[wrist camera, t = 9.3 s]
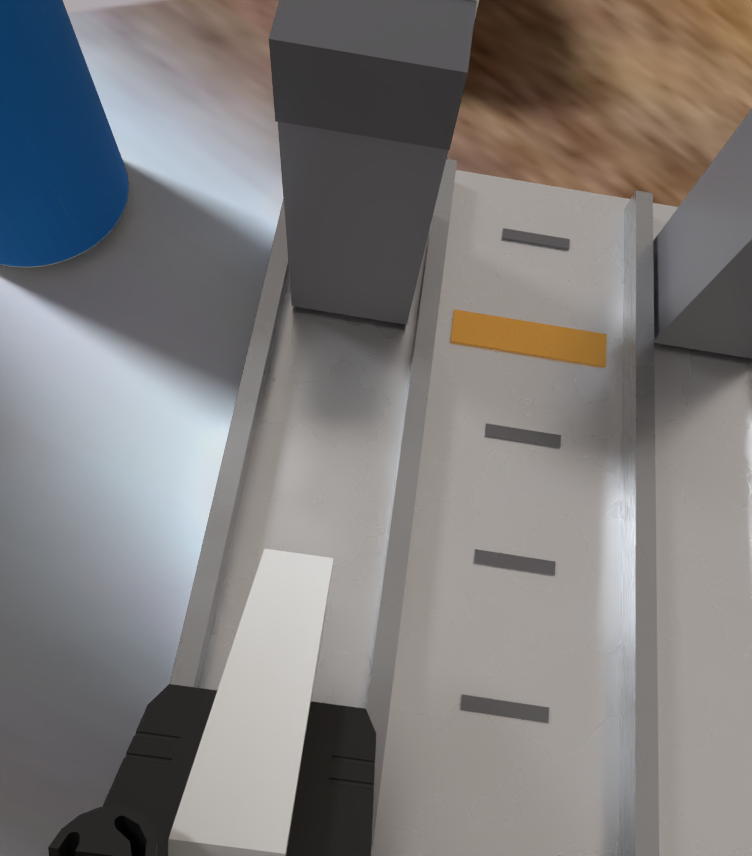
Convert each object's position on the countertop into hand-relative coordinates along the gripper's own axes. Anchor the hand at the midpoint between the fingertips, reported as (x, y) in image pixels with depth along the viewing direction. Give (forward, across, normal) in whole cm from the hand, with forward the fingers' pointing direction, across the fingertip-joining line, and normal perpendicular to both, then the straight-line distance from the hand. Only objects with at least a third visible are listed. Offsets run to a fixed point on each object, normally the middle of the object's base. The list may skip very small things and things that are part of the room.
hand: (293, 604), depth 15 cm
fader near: (+11, 0, +6) cm, 12 cm away
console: (+8, +6, 0) cm, 10 cm away
